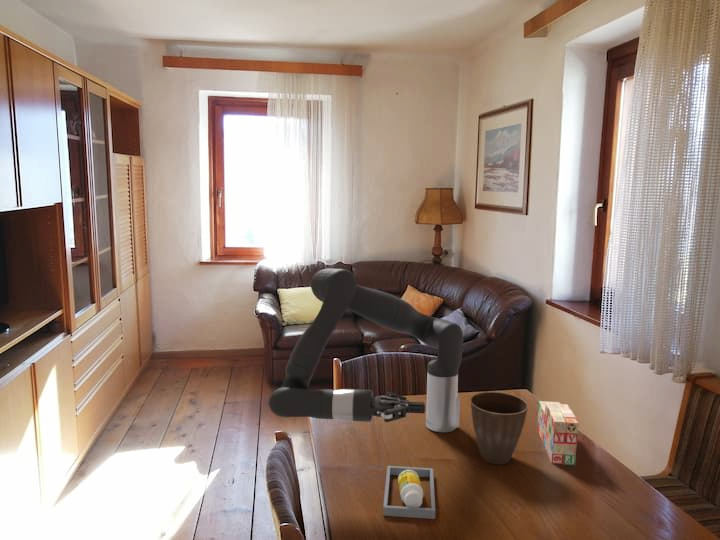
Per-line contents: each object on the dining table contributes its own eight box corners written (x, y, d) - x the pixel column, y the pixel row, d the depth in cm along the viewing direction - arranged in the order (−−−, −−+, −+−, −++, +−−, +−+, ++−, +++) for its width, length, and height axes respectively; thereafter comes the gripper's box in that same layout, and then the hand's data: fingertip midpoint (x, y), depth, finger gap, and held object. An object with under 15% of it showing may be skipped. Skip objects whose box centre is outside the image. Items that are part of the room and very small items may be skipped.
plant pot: (534, 457, 151) (537, 402, 149) (507, 478, 141) (510, 418, 138) (486, 440, 161) (488, 387, 159) (457, 458, 151) (459, 402, 148)
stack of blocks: (536, 429, 169) (539, 391, 167) (558, 431, 168) (560, 392, 167) (551, 464, 148) (554, 420, 146) (575, 466, 147) (579, 422, 146)
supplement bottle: (412, 492, 135) (418, 516, 126) (393, 483, 135) (397, 506, 125) (423, 474, 135) (429, 496, 125) (403, 465, 134) (408, 487, 125)
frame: (387, 473, 143) (387, 465, 142) (432, 475, 142) (432, 468, 141) (383, 515, 124) (383, 507, 124) (435, 519, 123) (435, 510, 123)
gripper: (349, 401, 127) (425, 403, 125) (355, 380, 140) (424, 382, 138) (349, 431, 128) (425, 435, 127) (355, 408, 141) (424, 411, 140)
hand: (424, 407), depth 132 cm, fingers closed
